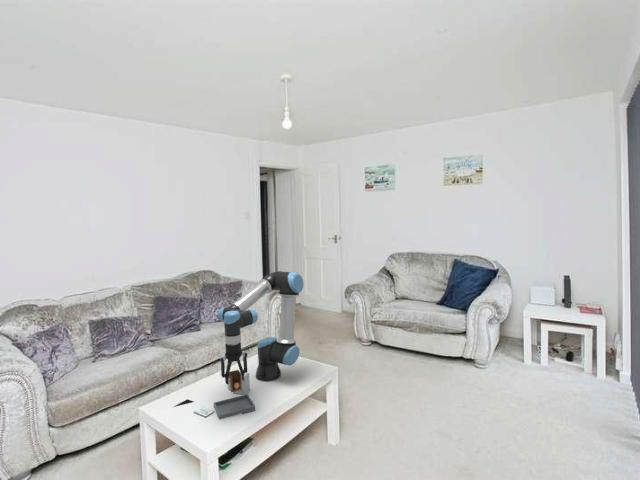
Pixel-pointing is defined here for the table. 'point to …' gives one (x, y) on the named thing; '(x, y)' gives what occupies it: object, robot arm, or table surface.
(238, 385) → the ball
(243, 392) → the small box
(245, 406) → the tray
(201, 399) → the table surface
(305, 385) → the table surface
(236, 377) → the brown wooden bin
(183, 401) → the smartphone
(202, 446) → the table surface
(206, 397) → the table surface
